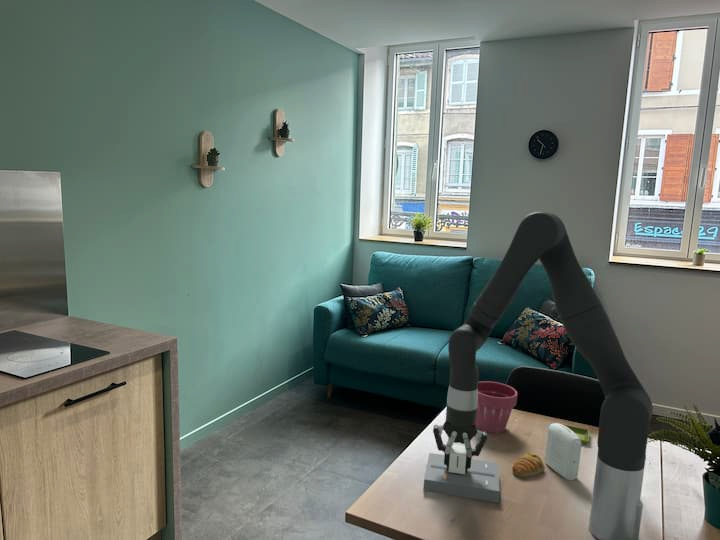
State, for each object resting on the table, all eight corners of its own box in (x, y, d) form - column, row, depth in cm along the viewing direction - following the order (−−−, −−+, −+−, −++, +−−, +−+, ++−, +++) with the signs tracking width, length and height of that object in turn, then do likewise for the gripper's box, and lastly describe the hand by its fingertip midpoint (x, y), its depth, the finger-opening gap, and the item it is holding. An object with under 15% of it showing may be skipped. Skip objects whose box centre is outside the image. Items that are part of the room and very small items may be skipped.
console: (496, 473, 141) (497, 462, 140) (498, 502, 127) (499, 490, 127) (428, 463, 145) (429, 452, 144) (423, 490, 131) (424, 478, 131)
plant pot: (521, 428, 170) (525, 389, 168) (500, 442, 159) (504, 401, 157) (481, 414, 179) (484, 377, 177) (459, 426, 169) (462, 387, 167)
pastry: (527, 482, 138) (529, 469, 137) (505, 472, 142) (506, 458, 142) (546, 471, 144) (547, 458, 143) (523, 461, 149) (524, 448, 148)
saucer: (588, 447, 159) (588, 441, 159) (557, 440, 163) (558, 434, 162) (588, 435, 167) (589, 429, 167) (559, 429, 171) (560, 423, 170)
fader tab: (465, 464, 138) (466, 446, 137) (464, 474, 133) (466, 455, 132) (449, 462, 139) (451, 444, 138) (448, 471, 134) (450, 453, 133)
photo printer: (580, 479, 140) (585, 435, 138) (566, 481, 139) (571, 436, 137) (555, 460, 150) (559, 418, 148) (542, 461, 148) (546, 419, 147)
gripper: (432, 405, 131) (427, 470, 134) (491, 413, 128) (485, 479, 131) (434, 394, 138) (430, 456, 141) (491, 401, 135) (485, 464, 138)
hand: (457, 467), depth 136 cm, fingers closed on fader tab, 4 cm apart
